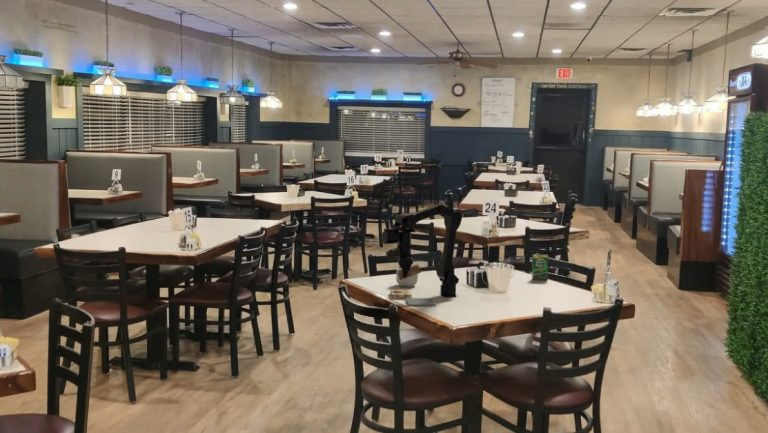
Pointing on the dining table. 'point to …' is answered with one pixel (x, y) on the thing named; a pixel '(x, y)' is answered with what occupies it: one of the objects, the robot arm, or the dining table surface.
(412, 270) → the walnut block
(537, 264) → the coffee box
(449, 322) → the dining table surface
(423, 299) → the grey mat
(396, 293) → the oak holder
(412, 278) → the teacup
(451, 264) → the robot arm
